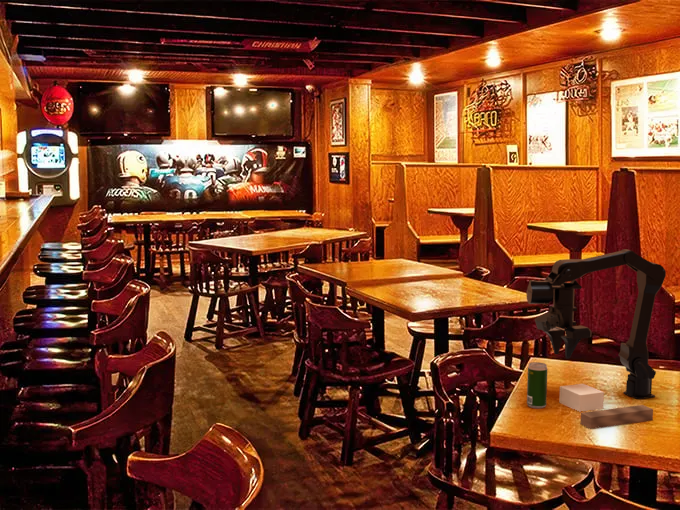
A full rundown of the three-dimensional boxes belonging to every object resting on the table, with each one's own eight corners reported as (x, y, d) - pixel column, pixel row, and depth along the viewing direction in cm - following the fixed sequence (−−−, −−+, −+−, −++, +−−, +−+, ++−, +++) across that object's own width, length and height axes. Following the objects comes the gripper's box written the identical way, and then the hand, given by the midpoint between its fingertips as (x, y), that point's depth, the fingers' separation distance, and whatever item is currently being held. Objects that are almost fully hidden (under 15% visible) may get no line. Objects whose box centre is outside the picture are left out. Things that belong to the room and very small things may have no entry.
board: (642, 415, 208) (642, 404, 208) (652, 420, 204) (653, 409, 204) (580, 424, 202) (580, 412, 201) (590, 428, 198) (590, 417, 197)
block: (582, 400, 223) (582, 383, 222) (603, 409, 214) (603, 392, 214) (559, 403, 220) (559, 386, 219) (579, 412, 211) (580, 395, 211)
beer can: (537, 410, 213) (538, 367, 212) (522, 405, 217) (523, 363, 216) (550, 406, 216) (551, 365, 215) (535, 401, 220) (537, 361, 219)
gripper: (521, 300, 229) (520, 351, 230) (559, 311, 211) (558, 366, 213) (553, 297, 232) (551, 348, 234) (593, 308, 215) (591, 363, 217)
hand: (562, 356), depth 224 cm, fingers open, 5 cm apart
